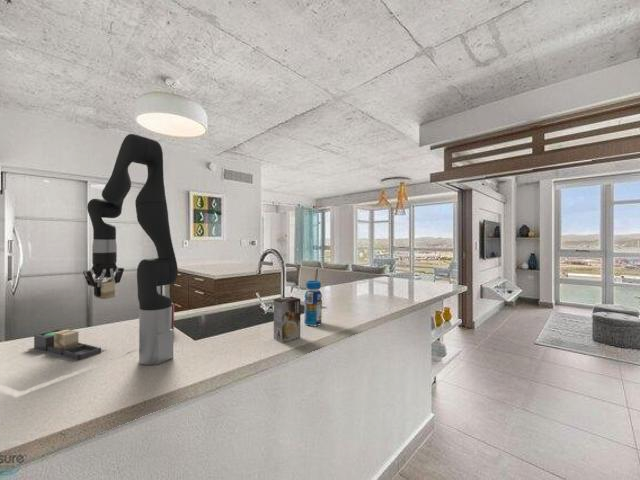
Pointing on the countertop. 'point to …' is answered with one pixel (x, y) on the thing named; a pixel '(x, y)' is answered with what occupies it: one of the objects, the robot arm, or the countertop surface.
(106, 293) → the loose billet
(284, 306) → the coffee box
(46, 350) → the grey compartment tray
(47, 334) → the button
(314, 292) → the beverage bottle
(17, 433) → the countertop surface
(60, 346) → the block
